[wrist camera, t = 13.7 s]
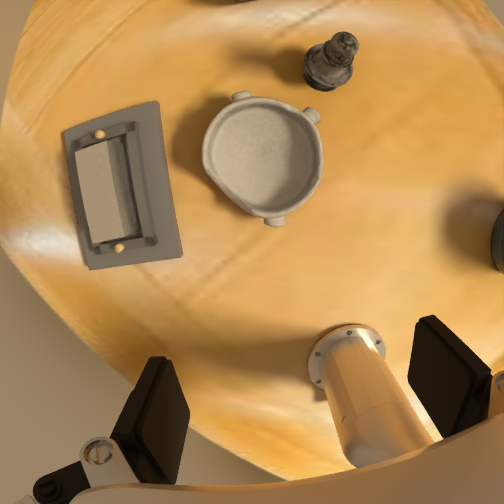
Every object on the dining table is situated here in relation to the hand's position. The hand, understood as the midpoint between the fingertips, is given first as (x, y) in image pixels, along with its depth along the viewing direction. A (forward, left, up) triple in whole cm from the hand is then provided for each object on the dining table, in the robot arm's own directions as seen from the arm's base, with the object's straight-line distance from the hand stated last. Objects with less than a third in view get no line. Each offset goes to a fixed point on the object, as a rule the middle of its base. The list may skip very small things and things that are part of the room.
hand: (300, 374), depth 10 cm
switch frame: (+8, +18, -28) cm, 34 cm away
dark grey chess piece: (+19, -10, -28) cm, 36 cm away
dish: (+9, -1, -29) cm, 30 cm away
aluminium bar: (+8, +18, -27) cm, 33 cm away
